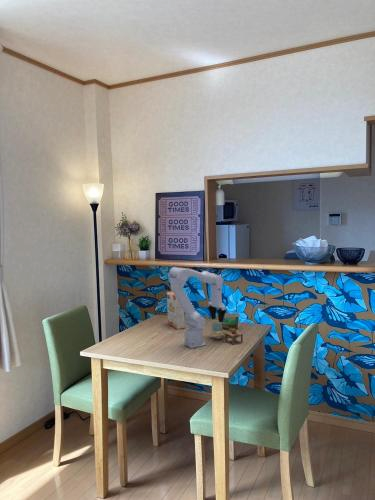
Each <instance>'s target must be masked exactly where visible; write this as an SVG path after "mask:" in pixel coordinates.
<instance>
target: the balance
mask: <svg viewBox="0 0 375 500" xmlns="http://www.w3.org/2000/svg"><path fill="white" fill-rule="evenodd" d="M232 329H233V328H229V330H224V329H223V328H222V331H219V332H215V331H213V330H212V328H211V329H210V330H209V333H211V334H216V336H213V339H215V340H216V341H220V340H225V333H228V332H232ZM236 331H237V332H239V333H240V330H238V329H236ZM217 334H218V335H217ZM220 334H221V335H220ZM229 338H230V339H231V338H232V336H229V335H227V339H229Z"/></svg>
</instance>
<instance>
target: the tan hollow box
mask: <svg viewBox="0 0 375 500" xmlns="http://www.w3.org/2000/svg"><path fill="white" fill-rule="evenodd" d="M236 330H237V329H235V328H233V329H232V332H228V333H225V339H224V341H225V343H228V338H227V335H229V336H232V337H231V345H232V346H234V345H235V341H236V340H237V337H238V336H240V343H241V344H243V339H244V338H243V337H244V336H243V333H242V332H240V331H239V332H237V331H236Z"/></svg>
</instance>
